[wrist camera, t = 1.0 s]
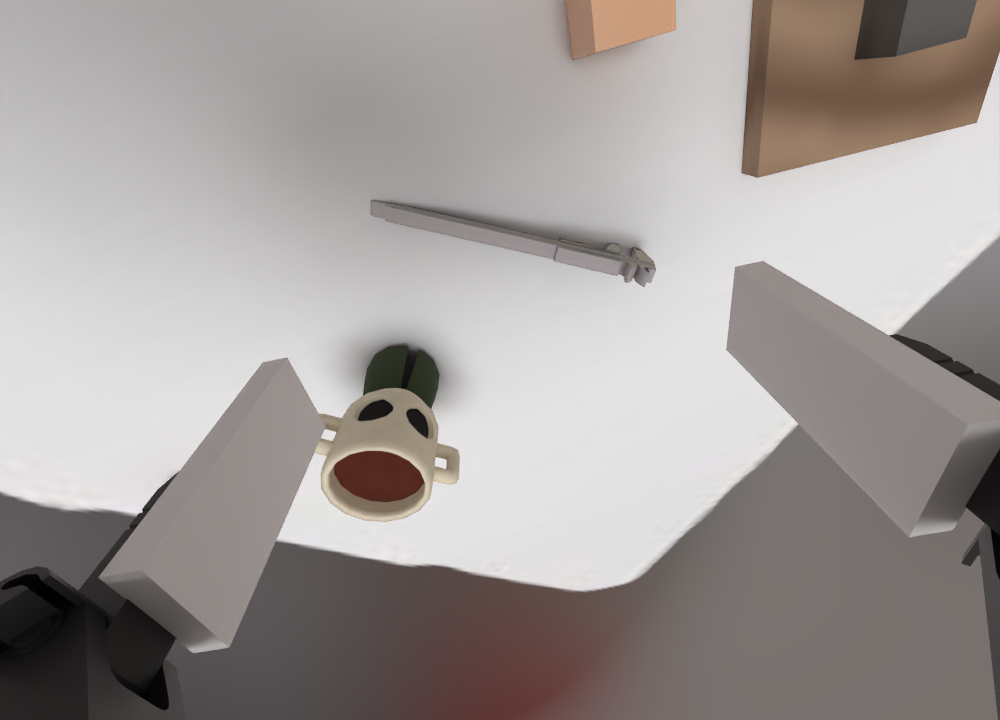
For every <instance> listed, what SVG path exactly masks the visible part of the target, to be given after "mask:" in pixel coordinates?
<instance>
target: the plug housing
mask: <svg viewBox="0 0 1000 720" xmlns="http://www.w3.org/2000/svg"><path fill="white" fill-rule="evenodd" d="M565 1H566V10H567V18H568V27H569V35H570V44H571V52H572V60H573V59H576V58H580V57H584V56H587V55H591V54H594V53H598V52H601V51H605V50H608V49H612V48H615V47H619V46H623V45H626V44H630V43H633V42H637V41H640V40H643V39H647V38H650V37H653V36H657V35H660V34H663V33H667V32H670V31H673V30H676V11H675V0H565Z"/></svg>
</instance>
